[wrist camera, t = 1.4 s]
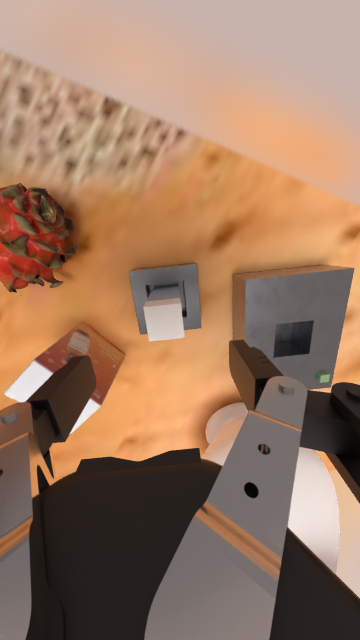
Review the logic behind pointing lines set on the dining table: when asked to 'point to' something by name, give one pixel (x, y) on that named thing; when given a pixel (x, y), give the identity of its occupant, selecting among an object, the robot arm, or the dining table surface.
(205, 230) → the dining table surface
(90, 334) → the small box
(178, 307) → the plug
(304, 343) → the port
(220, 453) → the decorative vase
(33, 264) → the dragon fruit
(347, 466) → the robot arm
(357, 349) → the dining table surface
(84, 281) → the dining table surface
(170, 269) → the holster
